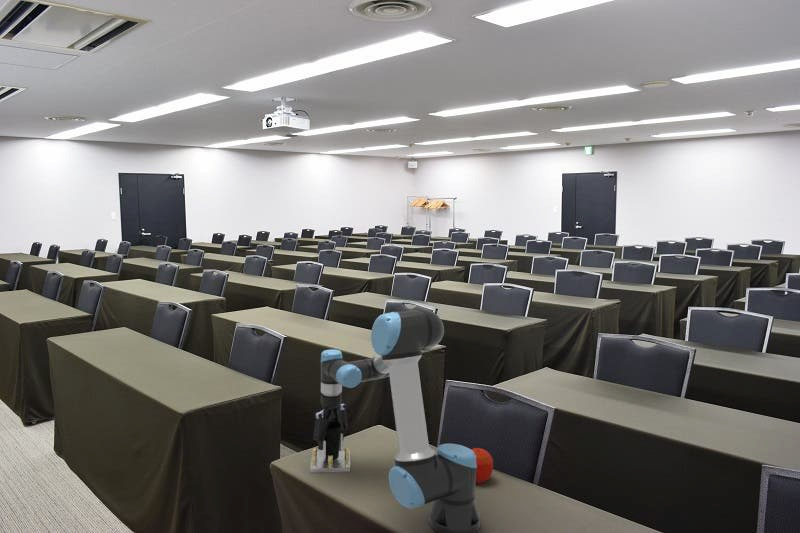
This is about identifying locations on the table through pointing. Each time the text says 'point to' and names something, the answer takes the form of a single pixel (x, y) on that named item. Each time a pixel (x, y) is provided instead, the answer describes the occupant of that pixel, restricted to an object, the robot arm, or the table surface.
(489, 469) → the apple
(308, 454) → the table surface
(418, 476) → the robot arm
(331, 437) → the cup
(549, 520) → the table surface
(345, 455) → the white board with pegs
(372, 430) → the table surface
